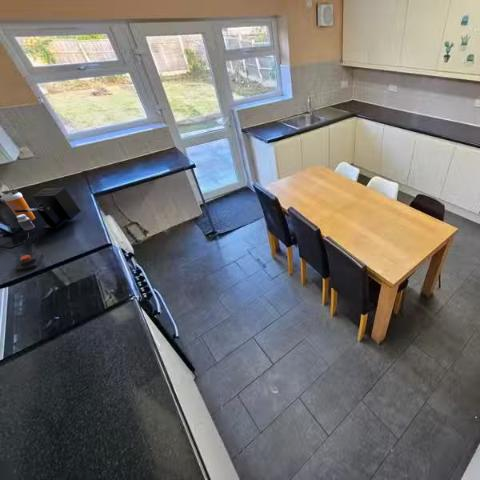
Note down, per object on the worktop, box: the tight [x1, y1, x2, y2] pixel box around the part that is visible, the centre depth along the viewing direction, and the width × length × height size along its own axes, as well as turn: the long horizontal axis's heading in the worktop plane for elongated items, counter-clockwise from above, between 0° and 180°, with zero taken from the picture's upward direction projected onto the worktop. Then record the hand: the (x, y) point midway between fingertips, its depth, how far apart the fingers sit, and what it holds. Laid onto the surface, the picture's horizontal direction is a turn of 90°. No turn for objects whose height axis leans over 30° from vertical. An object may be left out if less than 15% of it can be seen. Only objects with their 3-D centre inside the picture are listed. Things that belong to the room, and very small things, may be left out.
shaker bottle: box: [0, 189, 36, 222], centre depth 171 cm, size 9×9×20 cm
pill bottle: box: [15, 214, 35, 231], centre depth 167 cm, size 5×5×9 cm
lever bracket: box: [34, 204, 68, 230], centre depth 168 cm, size 10×8×14 cm
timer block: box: [15, 253, 45, 272], centre depth 142 cm, size 10×8×4 cm
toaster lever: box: [15, 207, 44, 213], centre depth 159 cm, size 15×6×2 cm, turn 3°
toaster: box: [32, 187, 82, 221], centre depth 174 cm, size 10×13×18 cm
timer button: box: [19, 254, 31, 262], centre depth 141 cm, size 4×4×2 cm
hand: (3, 202), depth 148 cm, fingers closed
